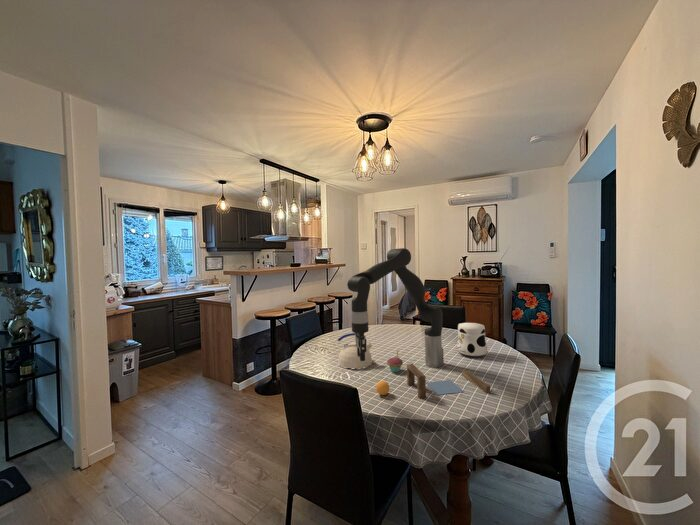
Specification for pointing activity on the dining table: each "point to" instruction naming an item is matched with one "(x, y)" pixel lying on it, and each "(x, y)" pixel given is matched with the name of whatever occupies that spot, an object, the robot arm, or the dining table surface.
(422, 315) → the robot arm
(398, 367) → the cupcake
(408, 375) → the bridge
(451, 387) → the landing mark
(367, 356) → the kettle
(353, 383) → the dining table surface
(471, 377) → the wall
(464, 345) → the milk container
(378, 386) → the ball
